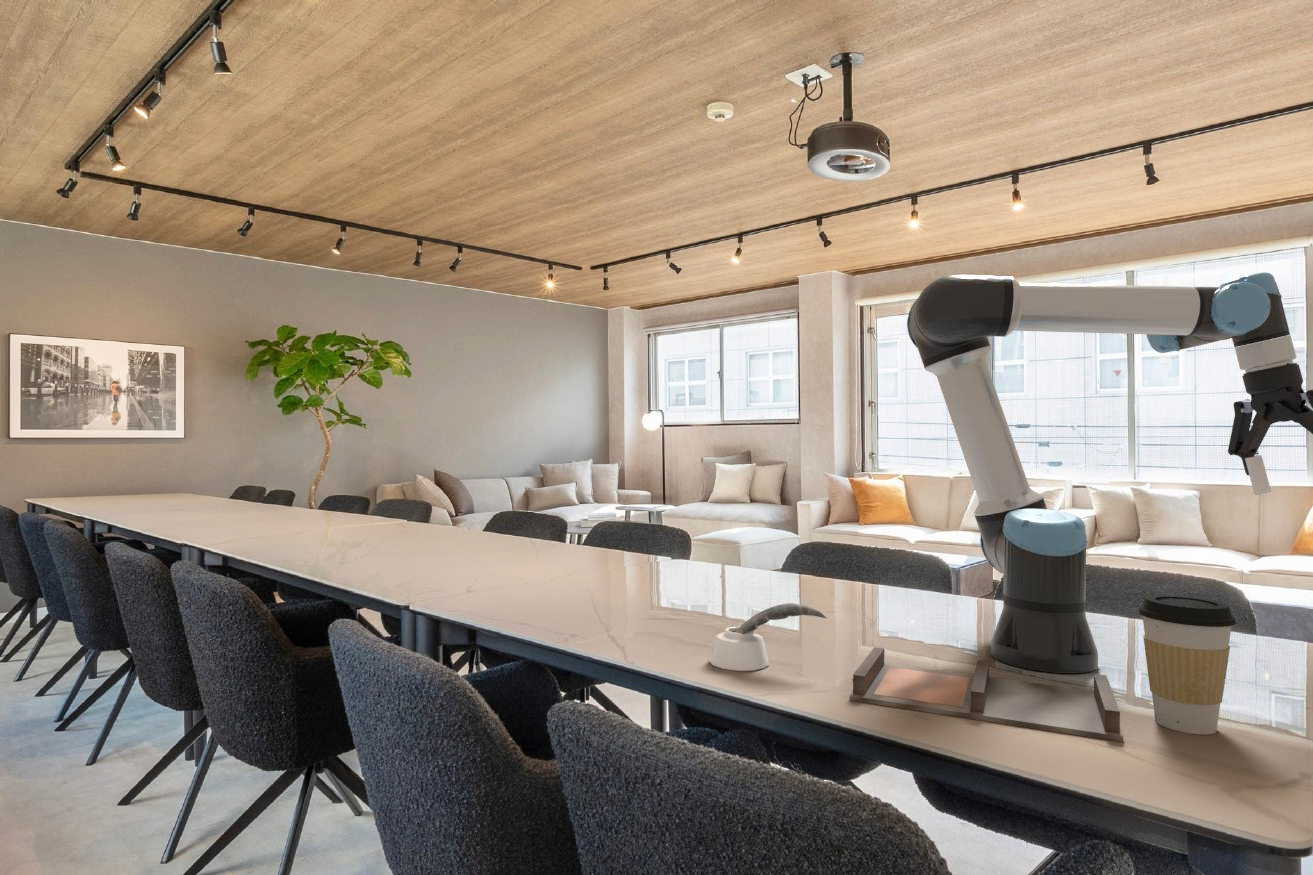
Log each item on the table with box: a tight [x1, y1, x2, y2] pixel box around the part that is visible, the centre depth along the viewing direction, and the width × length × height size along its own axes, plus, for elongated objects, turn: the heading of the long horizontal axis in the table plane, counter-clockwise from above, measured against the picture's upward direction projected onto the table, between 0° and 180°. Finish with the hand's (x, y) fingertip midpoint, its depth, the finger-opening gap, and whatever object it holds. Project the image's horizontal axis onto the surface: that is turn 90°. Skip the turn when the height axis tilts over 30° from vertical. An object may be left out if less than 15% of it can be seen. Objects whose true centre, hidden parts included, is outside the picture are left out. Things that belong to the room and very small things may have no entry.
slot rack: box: [848, 646, 1124, 743], centre depth 103 cm, size 31×18×3 cm, turn 65°
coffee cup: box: [1137, 594, 1237, 736], centre depth 94 cm, size 10×10×15 cm
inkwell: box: [709, 602, 827, 672], centre depth 117 cm, size 9×18×10 cm, turn 68°
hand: (1302, 492), depth 126 cm, fingers open, 13 cm apart
